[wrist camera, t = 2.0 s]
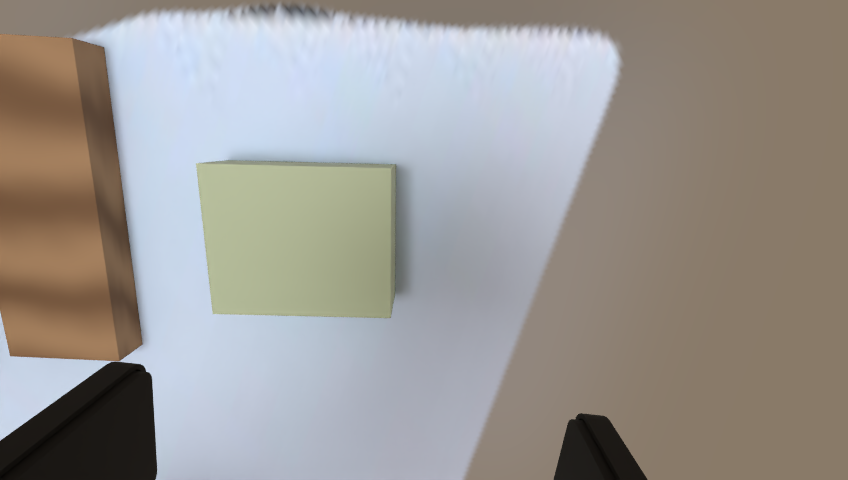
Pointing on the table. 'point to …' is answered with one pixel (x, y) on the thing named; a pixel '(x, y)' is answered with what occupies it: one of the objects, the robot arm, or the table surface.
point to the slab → (299, 237)
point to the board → (62, 205)
